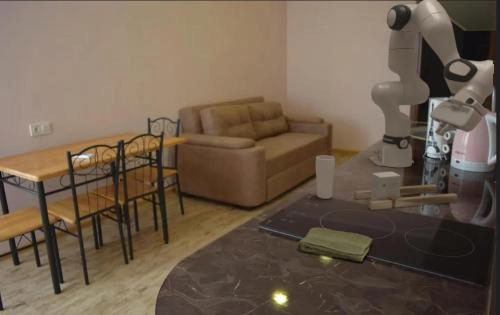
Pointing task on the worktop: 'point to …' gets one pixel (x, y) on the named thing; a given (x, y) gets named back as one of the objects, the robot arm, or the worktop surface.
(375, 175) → the small box
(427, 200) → the wooden track
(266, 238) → the worktop surface
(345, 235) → the washcloth
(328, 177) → the drinking glass
